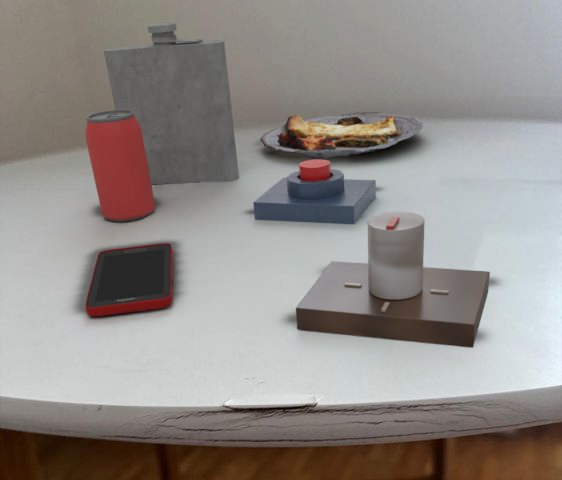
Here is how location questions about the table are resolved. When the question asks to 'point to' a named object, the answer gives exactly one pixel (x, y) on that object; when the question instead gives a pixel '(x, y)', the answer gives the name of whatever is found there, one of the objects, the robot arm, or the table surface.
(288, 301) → the table surface
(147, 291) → the cell phone
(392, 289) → the tap knob
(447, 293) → the panel
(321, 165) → the red button
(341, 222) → the button block
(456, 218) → the table surface
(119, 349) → the table surface
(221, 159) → the hip flask
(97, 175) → the beer can
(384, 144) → the food plate
